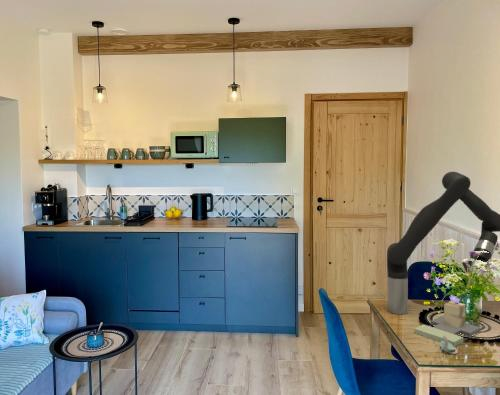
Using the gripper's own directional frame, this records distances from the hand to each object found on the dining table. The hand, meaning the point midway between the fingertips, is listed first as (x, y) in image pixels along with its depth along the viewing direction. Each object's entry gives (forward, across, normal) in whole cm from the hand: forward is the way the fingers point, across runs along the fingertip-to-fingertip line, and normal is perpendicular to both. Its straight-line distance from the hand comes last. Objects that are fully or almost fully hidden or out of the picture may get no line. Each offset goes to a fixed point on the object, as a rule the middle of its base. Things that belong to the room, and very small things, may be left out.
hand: (470, 282), depth 181 cm
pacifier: (+38, +9, -12) cm, 41 cm away
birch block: (+21, 0, +1) cm, 21 cm away
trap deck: (+26, 0, -2) cm, 27 cm away
